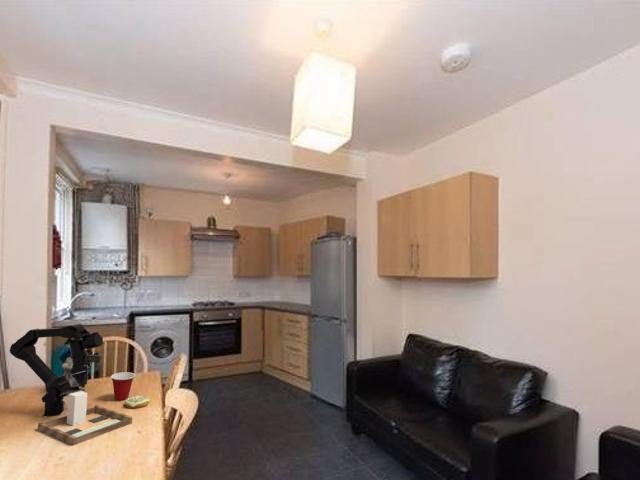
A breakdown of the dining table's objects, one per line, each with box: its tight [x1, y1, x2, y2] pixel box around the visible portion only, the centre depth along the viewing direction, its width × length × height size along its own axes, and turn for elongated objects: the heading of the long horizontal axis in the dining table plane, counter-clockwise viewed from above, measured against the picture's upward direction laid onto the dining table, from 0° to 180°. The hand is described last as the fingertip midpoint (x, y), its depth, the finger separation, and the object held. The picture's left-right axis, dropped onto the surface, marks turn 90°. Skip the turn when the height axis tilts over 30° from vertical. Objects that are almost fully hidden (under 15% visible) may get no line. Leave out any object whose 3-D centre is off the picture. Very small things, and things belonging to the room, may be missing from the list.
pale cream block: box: [66, 391, 88, 427], centre depth 157 cm, size 5×5×12 cm
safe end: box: [73, 419, 120, 437], centre depth 149 cm, size 8×21×1 cm, turn 151°
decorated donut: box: [124, 394, 150, 409], centre depth 178 cm, size 10×11×4 cm
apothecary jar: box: [61, 356, 89, 396], centre depth 194 cm, size 12×12×18 cm
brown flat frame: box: [37, 405, 133, 446], centre depth 153 cm, size 26×24×2 cm
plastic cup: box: [110, 371, 136, 402], centre depth 185 cm, size 11×11×12 cm
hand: (84, 386), depth 166 cm, fingers open, 9 cm apart
